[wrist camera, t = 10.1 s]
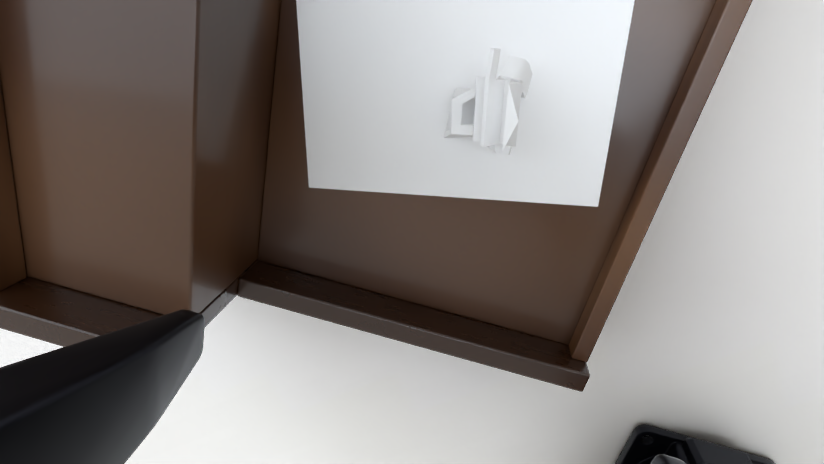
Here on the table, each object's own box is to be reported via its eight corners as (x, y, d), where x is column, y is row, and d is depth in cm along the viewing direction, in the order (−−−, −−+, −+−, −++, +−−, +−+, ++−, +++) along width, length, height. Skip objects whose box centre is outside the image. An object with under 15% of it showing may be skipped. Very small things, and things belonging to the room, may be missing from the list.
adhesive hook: (523, 147, 15) (530, 173, 13) (443, 143, 16) (432, 167, 13) (534, 47, 14) (544, 49, 11) (448, 44, 15) (437, 47, 12)
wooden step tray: (565, 323, 21) (611, 507, 13) (162, 214, 22) (-34, 319, 14) (770, -169, 14) (1168, -462, 6) (162, -291, 15) (-236, -683, 7)
